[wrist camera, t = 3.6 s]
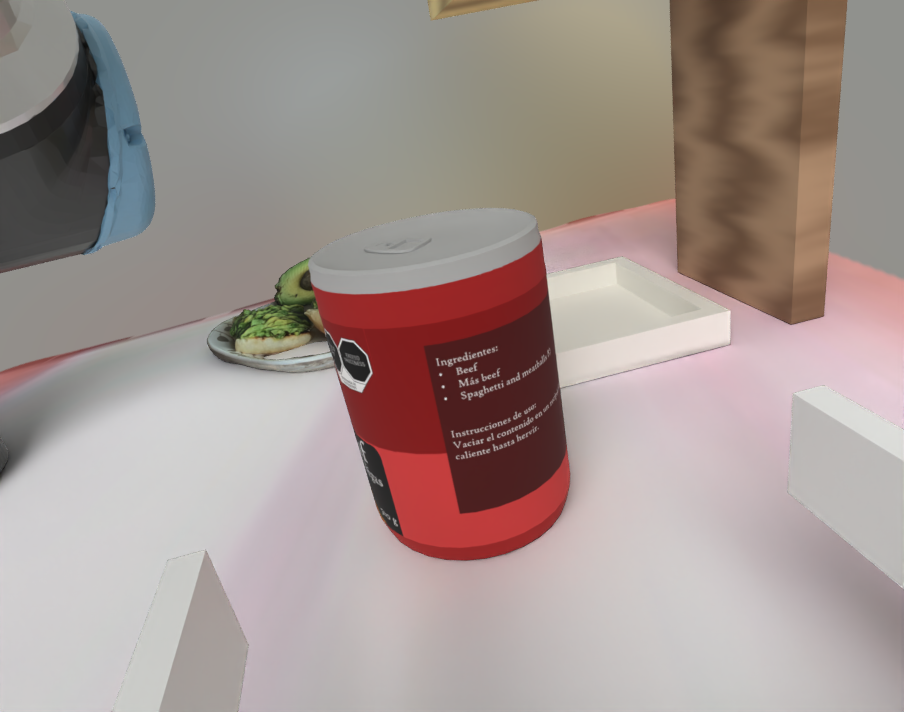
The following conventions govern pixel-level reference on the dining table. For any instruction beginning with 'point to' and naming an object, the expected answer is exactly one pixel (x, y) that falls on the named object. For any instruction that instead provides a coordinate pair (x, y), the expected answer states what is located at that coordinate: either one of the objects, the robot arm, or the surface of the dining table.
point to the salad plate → (276, 328)
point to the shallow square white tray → (627, 320)
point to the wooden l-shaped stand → (750, 143)
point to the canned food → (450, 376)
